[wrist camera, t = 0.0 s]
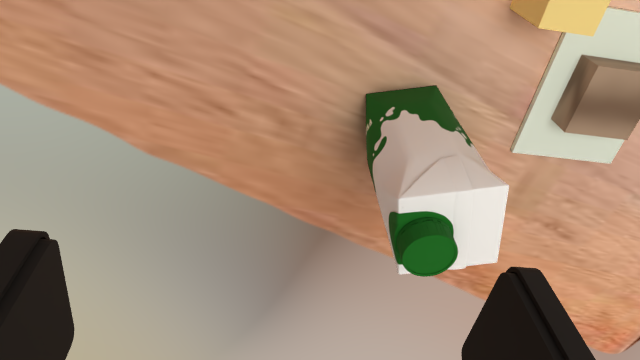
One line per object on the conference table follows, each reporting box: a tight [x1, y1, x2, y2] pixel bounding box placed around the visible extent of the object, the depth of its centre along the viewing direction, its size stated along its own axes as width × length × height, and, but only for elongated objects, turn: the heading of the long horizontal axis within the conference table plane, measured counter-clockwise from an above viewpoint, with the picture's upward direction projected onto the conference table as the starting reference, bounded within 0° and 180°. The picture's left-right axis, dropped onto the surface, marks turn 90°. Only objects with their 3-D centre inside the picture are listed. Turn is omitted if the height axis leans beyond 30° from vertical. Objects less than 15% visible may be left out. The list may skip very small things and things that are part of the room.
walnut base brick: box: [551, 55, 640, 140], centre depth 47 cm, size 7×7×3 cm
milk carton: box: [366, 86, 509, 276], centre depth 42 cm, size 9×9×20 cm
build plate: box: [510, 7, 640, 164], centre depth 49 cm, size 16×12×1 cm
